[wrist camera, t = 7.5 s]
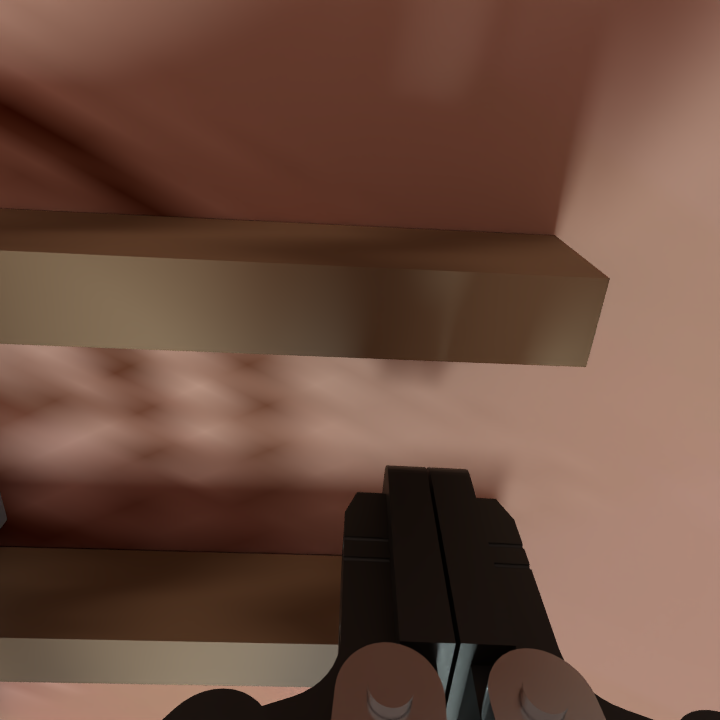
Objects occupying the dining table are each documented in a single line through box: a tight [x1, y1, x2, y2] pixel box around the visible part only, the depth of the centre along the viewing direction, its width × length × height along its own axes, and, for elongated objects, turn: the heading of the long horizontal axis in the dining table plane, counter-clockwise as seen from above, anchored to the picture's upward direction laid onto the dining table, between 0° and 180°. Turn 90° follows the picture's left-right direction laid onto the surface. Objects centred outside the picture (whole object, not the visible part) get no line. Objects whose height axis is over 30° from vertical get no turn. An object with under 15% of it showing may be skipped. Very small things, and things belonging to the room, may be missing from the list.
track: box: [0, 208, 610, 687], centre depth 11 cm, size 20×10×4 cm, turn 87°
